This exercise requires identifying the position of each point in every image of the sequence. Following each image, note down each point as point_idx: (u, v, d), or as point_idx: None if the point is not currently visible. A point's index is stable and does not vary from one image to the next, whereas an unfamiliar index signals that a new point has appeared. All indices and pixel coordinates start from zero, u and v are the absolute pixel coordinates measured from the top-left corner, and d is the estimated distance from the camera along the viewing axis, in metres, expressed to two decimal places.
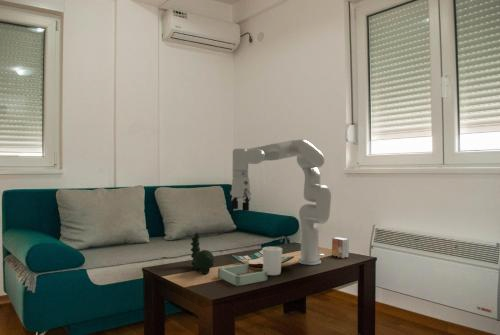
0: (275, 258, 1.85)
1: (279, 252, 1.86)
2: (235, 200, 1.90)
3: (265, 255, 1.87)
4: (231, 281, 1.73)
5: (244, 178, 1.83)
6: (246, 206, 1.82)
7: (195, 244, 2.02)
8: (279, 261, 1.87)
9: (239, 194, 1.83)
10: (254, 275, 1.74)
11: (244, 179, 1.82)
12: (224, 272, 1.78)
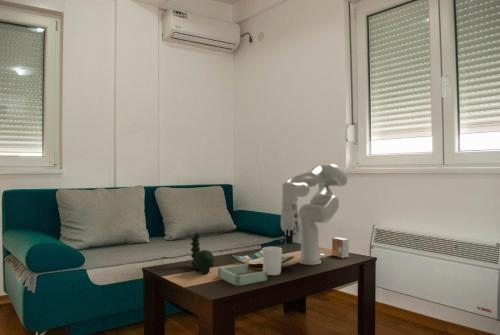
0: (275, 258, 1.85)
1: (279, 252, 1.86)
2: None
3: (265, 255, 1.87)
4: (231, 281, 1.73)
5: (294, 211, 1.92)
6: (290, 239, 1.94)
7: (195, 244, 2.02)
8: (279, 261, 1.87)
9: (289, 227, 1.92)
10: (254, 275, 1.74)
11: (294, 212, 1.92)
12: (224, 272, 1.78)
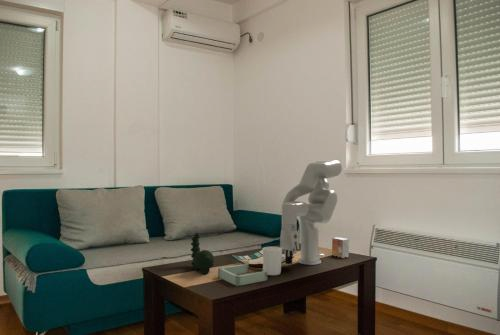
0: (275, 258, 1.85)
1: (279, 252, 1.86)
2: None
3: (265, 255, 1.87)
4: (231, 281, 1.73)
5: (294, 232, 1.92)
6: (290, 260, 1.94)
7: (195, 244, 2.02)
8: (279, 261, 1.87)
9: (288, 247, 1.92)
10: (254, 275, 1.74)
11: (294, 233, 1.92)
12: (224, 272, 1.78)
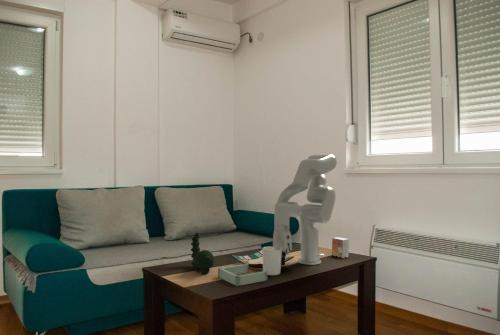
0: (275, 258, 1.85)
1: (279, 252, 1.86)
2: None
3: (265, 255, 1.87)
4: (231, 281, 1.73)
5: (286, 233, 1.89)
6: (283, 261, 1.92)
7: (195, 244, 2.02)
8: (278, 261, 1.86)
9: (281, 248, 1.90)
10: (254, 275, 1.74)
11: (286, 234, 1.89)
12: (224, 272, 1.78)
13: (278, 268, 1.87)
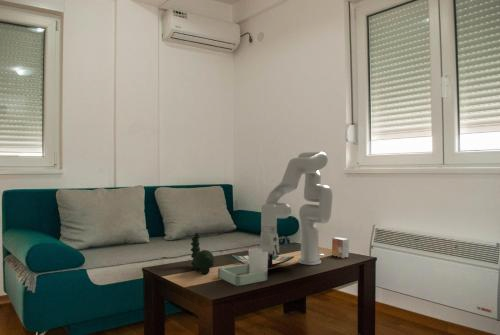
0: (261, 260, 1.81)
1: (265, 254, 1.82)
2: None
3: (251, 257, 1.83)
4: (231, 281, 1.73)
5: (273, 234, 1.85)
6: (270, 263, 1.87)
7: (195, 244, 2.02)
8: (264, 263, 1.82)
9: None
10: (254, 275, 1.74)
11: (273, 235, 1.85)
12: (224, 272, 1.78)
13: None
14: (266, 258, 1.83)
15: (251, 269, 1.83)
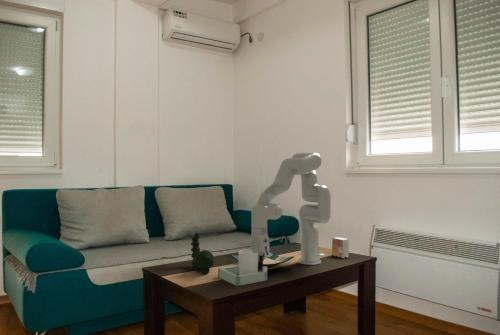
0: (250, 261, 1.78)
1: (254, 255, 1.79)
2: None
3: (240, 258, 1.80)
4: (231, 281, 1.73)
5: (264, 236, 1.82)
6: (260, 265, 1.84)
7: (195, 244, 2.02)
8: (254, 265, 1.79)
9: None
10: (254, 275, 1.74)
11: (264, 237, 1.81)
12: (224, 272, 1.78)
13: (254, 272, 1.79)
14: (256, 260, 1.80)
15: (241, 271, 1.80)
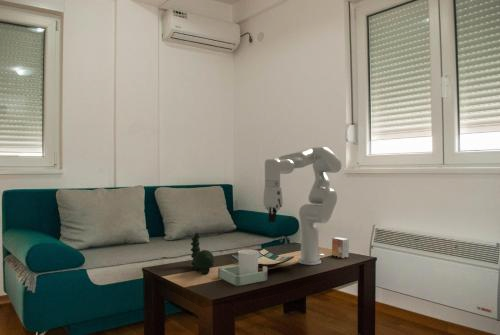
0: (250, 262, 1.78)
1: (254, 255, 1.79)
2: None
3: (240, 258, 1.80)
4: (231, 281, 1.73)
5: (277, 188, 1.86)
6: (273, 217, 1.89)
7: (195, 244, 2.02)
8: (254, 265, 1.79)
9: (272, 204, 1.87)
10: (254, 275, 1.74)
11: (277, 189, 1.86)
12: (224, 272, 1.78)
13: (254, 272, 1.79)
14: (256, 260, 1.80)
15: (240, 271, 1.80)
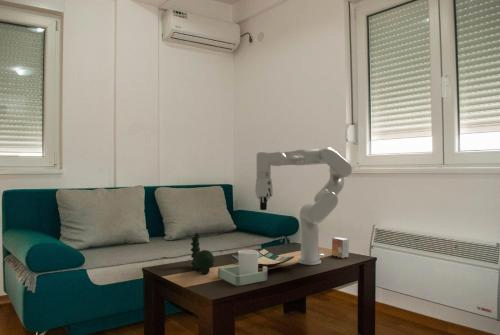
0: (250, 262, 1.78)
1: (254, 255, 1.79)
2: None
3: (240, 258, 1.80)
4: (231, 281, 1.73)
5: (267, 179, 2.03)
6: (264, 206, 2.05)
7: (195, 244, 2.02)
8: (254, 265, 1.79)
9: (262, 193, 2.03)
10: (254, 275, 1.74)
11: (267, 180, 2.02)
12: (224, 272, 1.78)
13: (254, 272, 1.79)
14: (256, 260, 1.80)
15: (240, 271, 1.80)
